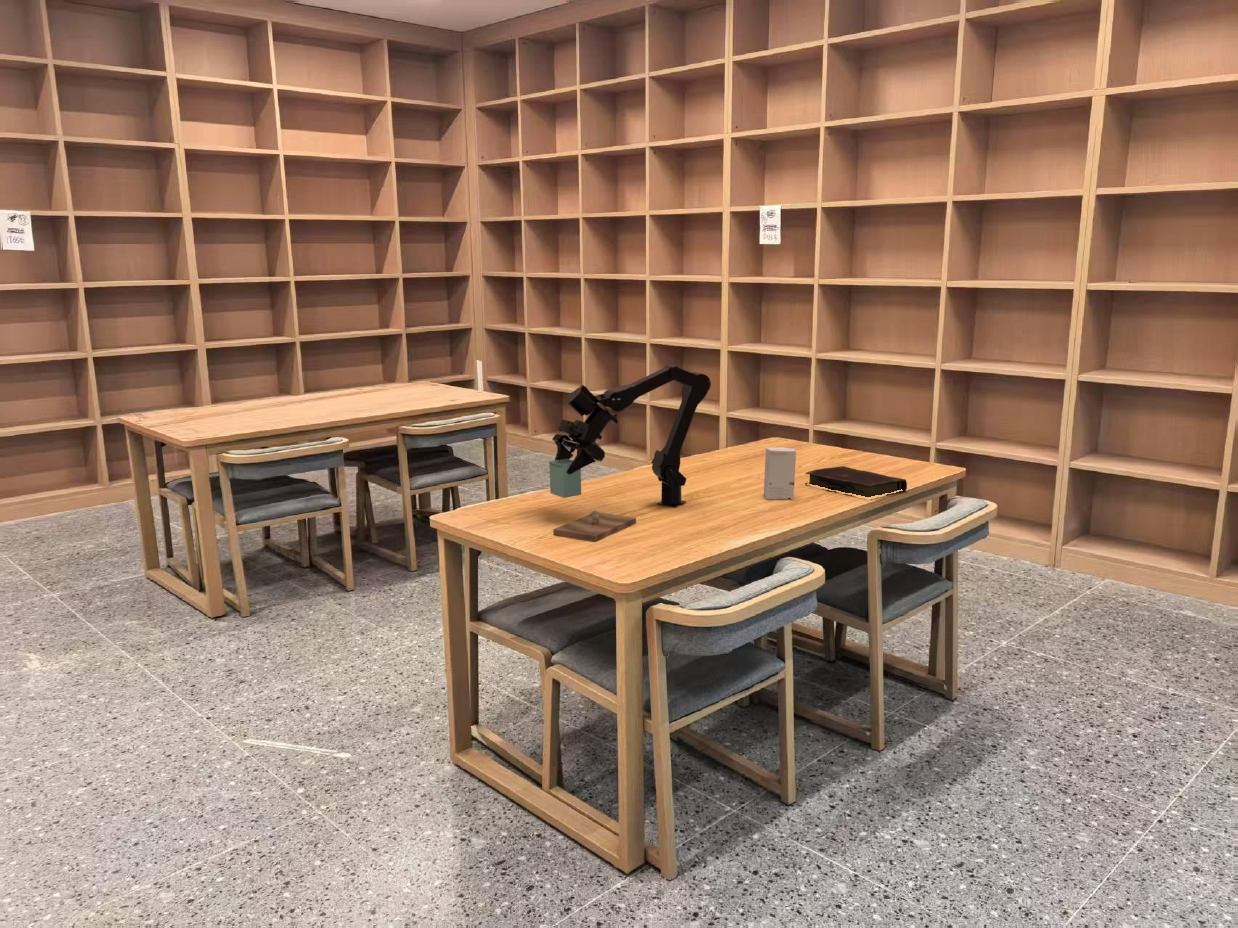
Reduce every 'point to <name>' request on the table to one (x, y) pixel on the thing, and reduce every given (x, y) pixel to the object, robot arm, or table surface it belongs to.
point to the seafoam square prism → (564, 479)
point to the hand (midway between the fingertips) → (560, 471)
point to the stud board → (594, 526)
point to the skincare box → (779, 473)
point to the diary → (856, 481)
